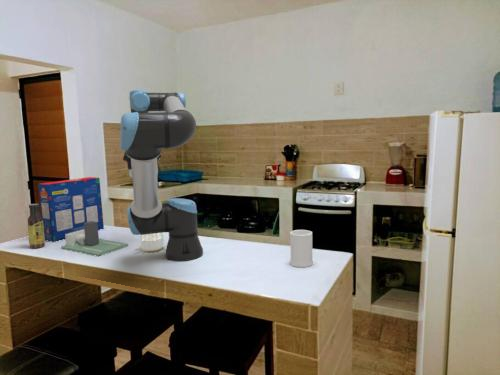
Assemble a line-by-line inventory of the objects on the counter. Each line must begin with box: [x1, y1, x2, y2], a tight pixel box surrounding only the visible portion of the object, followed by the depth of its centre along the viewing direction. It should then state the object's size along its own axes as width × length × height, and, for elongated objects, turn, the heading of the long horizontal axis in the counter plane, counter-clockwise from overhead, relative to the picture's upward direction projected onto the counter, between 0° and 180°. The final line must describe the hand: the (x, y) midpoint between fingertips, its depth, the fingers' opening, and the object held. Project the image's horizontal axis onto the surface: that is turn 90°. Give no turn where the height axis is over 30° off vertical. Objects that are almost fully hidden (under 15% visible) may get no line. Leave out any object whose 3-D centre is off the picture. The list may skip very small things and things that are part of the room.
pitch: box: [60, 229, 129, 257], centre depth 168 cm, size 25×16×6 cm, turn 60°
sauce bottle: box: [27, 203, 46, 249], centre depth 170 cm, size 7×6×20 cm
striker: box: [79, 221, 100, 246], centre depth 169 cm, size 7×6×10 cm
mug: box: [289, 229, 314, 268], centre depth 140 cm, size 12×8×12 cm
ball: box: [76, 234, 85, 242], centre depth 173 cm, size 4×4×4 cm
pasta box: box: [37, 176, 105, 243], centre depth 191 cm, size 28×8×28 cm, turn 148°
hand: (144, 175), depth 166 cm, fingers open, 13 cm apart
